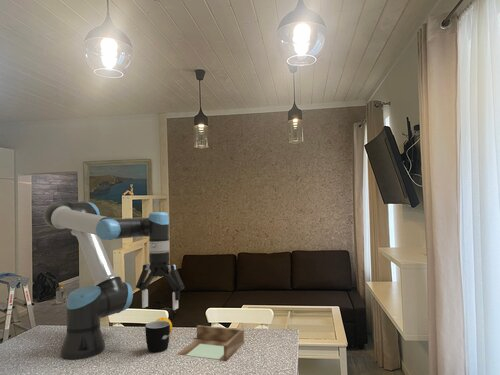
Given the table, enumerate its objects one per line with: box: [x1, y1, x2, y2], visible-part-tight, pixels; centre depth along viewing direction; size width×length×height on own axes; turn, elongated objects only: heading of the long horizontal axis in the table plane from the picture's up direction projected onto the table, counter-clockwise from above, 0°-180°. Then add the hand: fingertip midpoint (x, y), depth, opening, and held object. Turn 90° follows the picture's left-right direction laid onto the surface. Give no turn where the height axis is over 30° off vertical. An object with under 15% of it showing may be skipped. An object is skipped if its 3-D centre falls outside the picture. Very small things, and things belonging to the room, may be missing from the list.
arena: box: [176, 325, 245, 362], centre depth 130 cm, size 20×17×6 cm
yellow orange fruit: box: [155, 317, 173, 334], centre depth 148 cm, size 8×8×8 cm
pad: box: [186, 344, 224, 361], centre depth 127 cm, size 13×11×1 cm
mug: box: [144, 320, 171, 354], centre depth 132 cm, size 12×9×10 cm
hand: (160, 308), depth 133 cm, fingers open, 13 cm apart
